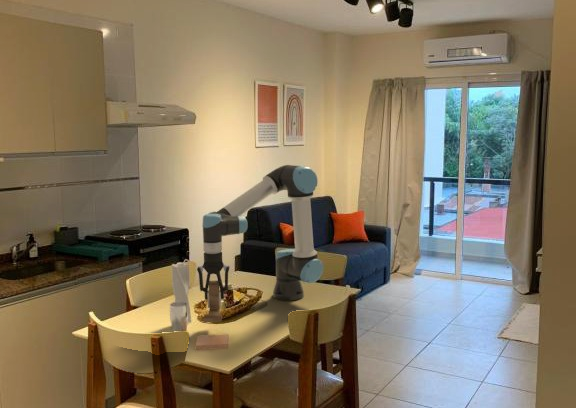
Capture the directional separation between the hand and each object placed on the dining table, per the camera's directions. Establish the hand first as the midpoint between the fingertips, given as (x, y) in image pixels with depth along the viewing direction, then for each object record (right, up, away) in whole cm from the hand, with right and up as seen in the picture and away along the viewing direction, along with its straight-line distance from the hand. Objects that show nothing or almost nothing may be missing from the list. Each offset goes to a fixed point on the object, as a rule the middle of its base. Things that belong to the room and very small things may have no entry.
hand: (214, 306), depth 233 cm
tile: (+1, -10, -12) cm, 16 cm away
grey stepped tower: (0, -3, -6) cm, 6 cm away
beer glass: (-12, -11, -13) cm, 21 cm away
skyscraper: (-14, -8, +5) cm, 17 cm away
